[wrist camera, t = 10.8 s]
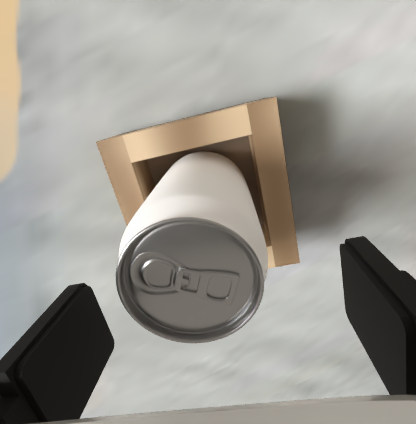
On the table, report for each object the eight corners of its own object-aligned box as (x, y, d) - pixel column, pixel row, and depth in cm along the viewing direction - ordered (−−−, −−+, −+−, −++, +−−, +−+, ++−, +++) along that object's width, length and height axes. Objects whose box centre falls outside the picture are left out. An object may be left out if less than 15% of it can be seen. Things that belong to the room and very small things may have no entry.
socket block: (264, 98, 20) (276, 96, 16) (285, 234, 24) (299, 262, 20) (120, 134, 22) (96, 141, 17) (161, 258, 25) (150, 289, 21)
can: (169, 141, 21) (109, 188, 9) (256, 159, 21) (299, 226, 10) (157, 222, 23) (98, 336, 12) (236, 237, 23) (251, 364, 12)
